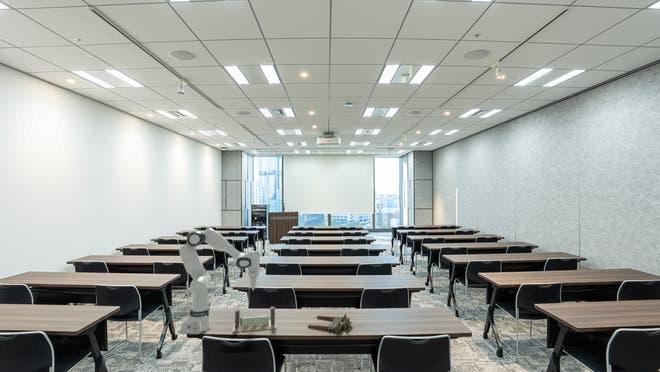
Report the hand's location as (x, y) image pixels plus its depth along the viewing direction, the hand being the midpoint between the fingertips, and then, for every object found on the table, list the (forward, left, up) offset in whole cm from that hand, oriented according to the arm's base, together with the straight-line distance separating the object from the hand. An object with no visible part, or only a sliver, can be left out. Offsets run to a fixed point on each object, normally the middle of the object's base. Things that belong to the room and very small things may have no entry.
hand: (253, 289), depth 245 cm
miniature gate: (+58, -22, -25) cm, 67 cm away
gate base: (+2, -12, -24) cm, 27 cm away
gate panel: (+2, -12, -23) cm, 25 cm away
